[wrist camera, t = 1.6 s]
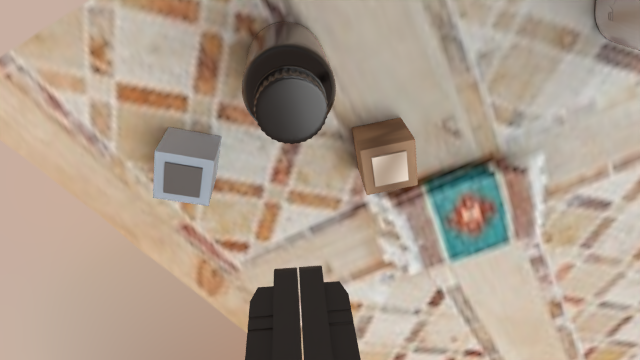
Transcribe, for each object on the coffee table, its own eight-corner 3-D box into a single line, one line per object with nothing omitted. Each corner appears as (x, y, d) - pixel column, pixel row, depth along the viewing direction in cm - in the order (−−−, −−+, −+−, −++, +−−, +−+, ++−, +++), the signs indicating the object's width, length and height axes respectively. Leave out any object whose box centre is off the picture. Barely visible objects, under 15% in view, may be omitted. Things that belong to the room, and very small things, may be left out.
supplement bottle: (275, 109, 37) (273, 174, 27) (233, 46, 34) (212, 94, 24) (338, 73, 36) (360, 127, 26) (300, 3, 32) (308, 35, 22)
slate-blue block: (221, 136, 38) (213, 162, 34) (216, 178, 41) (208, 207, 36) (169, 126, 37) (153, 151, 33) (166, 170, 40) (152, 199, 35)
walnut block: (400, 117, 39) (415, 140, 34) (403, 159, 41) (418, 185, 37) (351, 127, 39) (360, 151, 34) (358, 168, 42) (367, 196, 37)
